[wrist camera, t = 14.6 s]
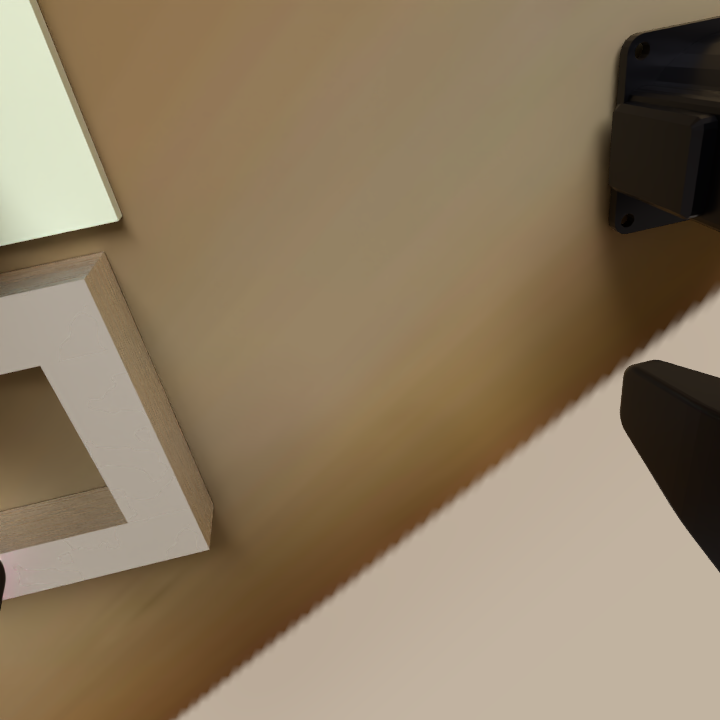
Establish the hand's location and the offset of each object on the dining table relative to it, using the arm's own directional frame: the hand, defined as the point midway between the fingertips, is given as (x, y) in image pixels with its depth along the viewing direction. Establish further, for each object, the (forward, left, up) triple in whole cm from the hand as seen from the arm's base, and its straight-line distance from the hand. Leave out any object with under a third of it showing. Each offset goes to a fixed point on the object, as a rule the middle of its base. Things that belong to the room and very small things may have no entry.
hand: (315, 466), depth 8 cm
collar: (+12, +6, -13) cm, 19 cm away
